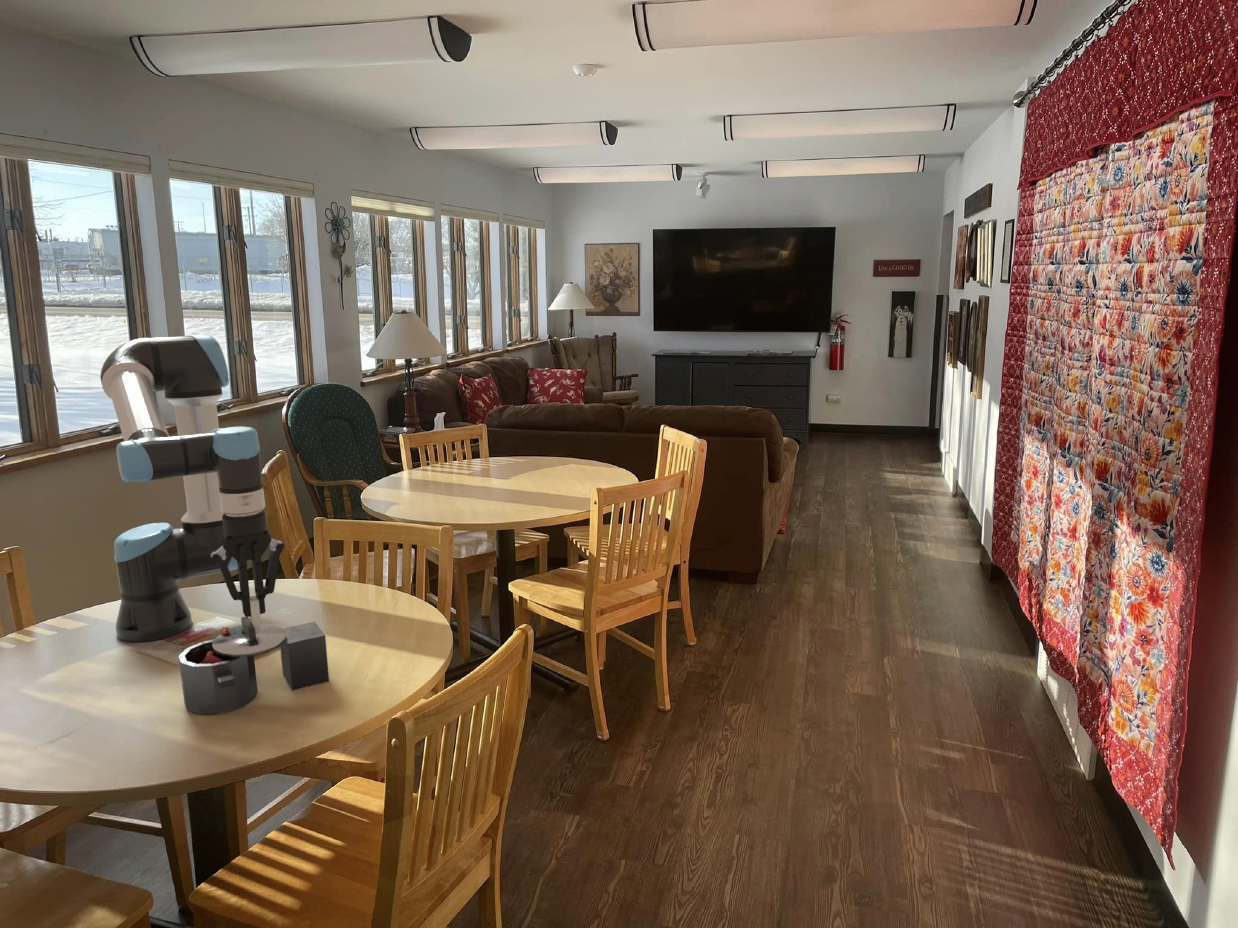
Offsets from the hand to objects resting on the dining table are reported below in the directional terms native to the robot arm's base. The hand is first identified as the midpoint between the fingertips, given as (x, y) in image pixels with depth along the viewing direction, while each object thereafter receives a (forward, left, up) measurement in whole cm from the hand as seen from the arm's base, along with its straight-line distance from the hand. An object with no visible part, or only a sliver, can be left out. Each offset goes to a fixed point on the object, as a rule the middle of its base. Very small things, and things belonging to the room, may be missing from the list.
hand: (256, 630), depth 170 cm
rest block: (0, +8, -12) cm, 15 cm away
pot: (0, -7, -12) cm, 14 cm away
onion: (0, -8, -11) cm, 14 cm away
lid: (0, -1, -2) cm, 2 cm away
